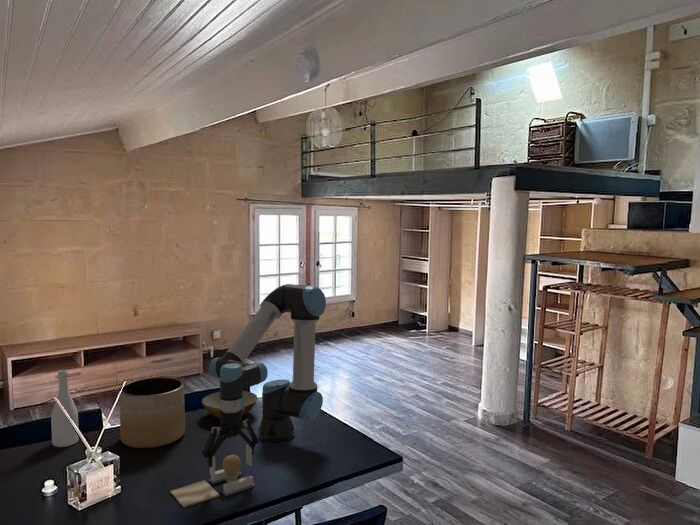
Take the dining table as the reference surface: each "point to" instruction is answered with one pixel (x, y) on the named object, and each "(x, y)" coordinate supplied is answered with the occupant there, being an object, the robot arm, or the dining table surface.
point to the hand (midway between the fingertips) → (231, 469)
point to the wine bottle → (60, 424)
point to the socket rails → (234, 485)
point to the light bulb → (231, 467)
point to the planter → (152, 412)
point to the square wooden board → (194, 493)
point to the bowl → (213, 403)
